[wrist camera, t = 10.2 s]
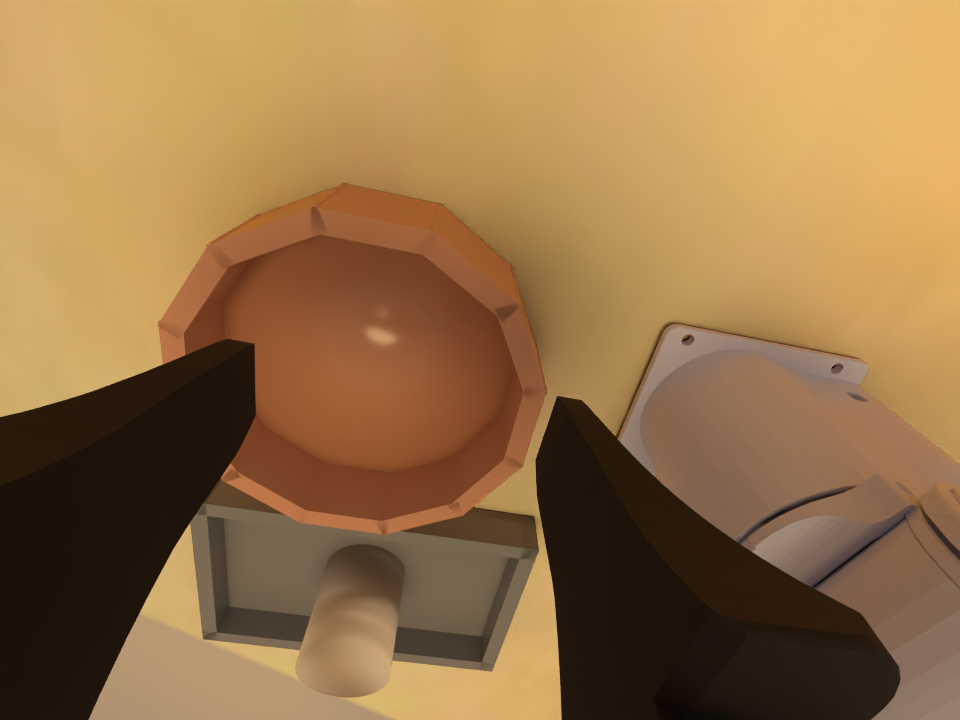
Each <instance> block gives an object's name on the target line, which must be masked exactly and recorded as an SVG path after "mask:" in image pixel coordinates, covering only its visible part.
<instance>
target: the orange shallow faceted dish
mask: <svg viewBox="0 0 960 720" xmlns="http://www.w3.org/2000/svg"><path fill="white" fill-rule="evenodd" d="M157 326H159V334H160V342H161V350H162V359H163V364H165V363H168V362H170V361H173V360H175V359H177V358H180V357H182V356H184V355H187V354H189V353H192V352H194V351H196V350H199V349H201V348H204V347H206V346H208V345H211V344H214V343H216V342H219V341H222V340H225V339H232V340H237V341H243V342H249V343H255V398H256V416H255V418H254V421H253V423H252V425H251V427H250V429H249V431H248V433H247V435H246V437H245V439H244V441H243V443H242V445H241V447H240V449H239V451H238V453H237V454H236V456H235V457H234V459H233V460H232V462H231V463H230V465H229V466H228V468H227V469H226V471H225V472H224V474H223V475H222V477H221V480H222V481H224V482H226V483H228V484H230V485H232V486H233V487H235V488H237V489H239V490H241V491H243V492H244V493H246V494H248V495H250V496H252V497H254V498H255V499H257V500H259V501H261V502H263V503H265V504H267V505H268V506H270V507H272V508H274V509H276V510H278V511H279V512H281V513H283V514H285V515H287V516H289V517H290V518H292V519H294V520H296V521H298V522H299V523H301V524H302V523H305V524H312V525H319V526H326V527H334V528H341V529H348V530H355V531H362V532H370V533H377V534H383V535H386V534H389V533H393V532H397V531H401V530H405V529H410V528H414V527H418V526H422V525H426V524H430V523H434V522H438V521H442V520H447V519H451V518H455V517H459V516H463V515H465V513H467V512H468V511H469V510H470V509H471V508H473V507H474V506H475V505H476V504H477V503H479V502H480V501H481V500H482V499H483V498H485V497H486V496H487V495H488V494H490V493H491V492H492V491H493V490H494V489H496V488H497V487H498V486H499V485H500V484H502V483H503V482H504V481H505V480H506V479H508V478H509V477H510V476H511V475H512V474H514V473H515V472H516V471H517V470H519V469H520V468H522V466H523V462H524V459H525V456H526V453H527V450H528V447H529V444H530V441H531V437H532V434H533V431H534V428H535V425H536V422H537V419H538V416H539V413H540V410H541V407H542V403H543V400H544V397H545V394H547V392H546V391H547V388H546V384H545V380H544V375H543V371H542V367H541V362H540V358H539V354H538V349H537V345H536V341H535V340H534V337H533V334H532V331H531V328H530V324H529V321H528V318H527V315H526V311H525V308H524V305H523V302H522V299H521V295H520V292H519V289H518V286H517V282H516V279H515V276H514V271H513V267H512V266H511V264H509V263H508V262H506V261H505V260H504V259H503V258H502V257H501V256H500V255H499V254H497V253H496V252H495V251H494V250H493V249H492V248H491V247H490V246H488V245H487V244H486V243H485V242H484V241H483V240H482V239H480V238H479V237H478V236H477V235H476V234H475V233H474V232H473V231H471V230H470V229H469V228H468V227H467V226H466V225H465V224H464V223H462V222H461V221H460V220H459V219H458V218H457V217H456V216H454V215H453V214H452V213H451V212H450V211H449V210H448V209H447V208H445V207H444V205H443V204H441V203H440V204H438V203H434V202H429V201H424V200H419V199H415V198H410V197H405V196H400V195H396V194H391V193H386V192H381V191H377V190H372V189H367V188H362V187H358V186H353V185H348V184H347V183H346V184H341V185H340V186H338V187H335V188H332V189H329V190H327V191H324V192H321V193H318V194H316V195H313V196H310V197H307V198H305V199H302V200H299V201H296V202H294V203H291V204H288V205H285V206H282V207H280V208H277V209H274V210H271V211H269V212H266V213H263V214H258V215H256V216H255V217H253V218H251V219H250V220H248V221H246V222H244V223H243V224H241V225H239V226H238V227H236V228H234V229H232V230H231V231H229V232H227V233H226V234H224V235H222V236H221V237H219V238H217V239H215V240H214V241H212V242H210V243H209V244H208V245H207V248H206V250H205V251H204V253H203V254H202V256H201V258H200V259H199V261H198V262H197V264H196V265H195V267H194V269H193V270H192V272H191V273H190V275H189V277H188V278H187V280H186V281H185V283H184V284H183V286H182V288H181V289H180V291H179V292H178V294H177V295H176V297H175V299H174V300H173V302H172V303H171V305H170V307H169V308H168V310H167V311H166V313H165V314H164V316H163V318H162V319H161V320H160V321H159V322H158V325H157Z"/></svg>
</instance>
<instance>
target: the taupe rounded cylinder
mask: <svg viewBox="0 0 960 720" xmlns="http://www.w3.org/2000/svg"><path fill="white" fill-rule="evenodd" d="M404 576H405V570H404V566H403V564H402V562H401V561H400V560H399V559H398V557H396V556H395V555H394V554H393V553H391V552H390V551H388V550H386V549H383V548H381V547H377V546H373V545H363V544H359V545H351V546H347V547H344V548H341V549H339V550H338V551H336V552H335V553H333V554H332V556H331V557H330V558H329V560H328V562H327V565H326V568H325V572H324V575H323V578H322V581H321V585H320V588H319V591H318V594H317V597H316V601H315V604H314V607H313V610H312V614H311V617H310V620H309V623H308V626H307V630H306V633H305V636H304V639H303V643H302V646H301V649H300V652H299V656H298V659H297V662H296V666H295V669H296V674H297V676H298V677H299V679H300V680H301V681H302V682H303V683H304V684H305V685H307V686H308V687H310V688H311V689H313V690H315V691H318V692H320V693H323V694H326V695H331V696H336V697H360V696H366V695H369V694H372V693H375V692H377V691H379V690H380V689H382V688H383V687H384V686H385V685H386V684H387V683H388V681H389V678H390V673H391V666H392V659H393V652H394V645H395V638H396V631H397V624H398V617H399V610H400V603H401V597H402V590H403V583H404Z"/></svg>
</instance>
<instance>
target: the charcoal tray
mask: <svg viewBox="0 0 960 720" xmlns="http://www.w3.org/2000/svg"><path fill="white" fill-rule="evenodd" d="M190 524H191V533H192V542H193V551H194V560H195V570H196V579H197V588H198V597H199V606H200V615H201V625H202V634H203V639H206V640H215V641H224V642H233V643H242V644H251V645H260V646H269V647H277V648H286V649H295V650H300V649H301V646H302V643H303V639H304V636H305V633H306V630H307V626H308V623H309V620H310V617H311V614H312V610H313V607H314V604H315V601H316V597H317V594H318V591H319V588H320V585H321V581H322V578H323V575H324V572H325V568H326V565H327V562H328V560H329V558H330V557H331V556H332V554H333V553H335V552H336V551H338V550H339V549H341V548H344V547H347V546H351V545H359V544H363V545H373V546H377V547H381V548H383V549H386V550H388V551H390V552H391V553H393V554H394V555H395V556H396V557H398V559H399V560H400V561H401V562H402V564H403V566H404V570H405V576H404V583H403V590H402V597H401V603H400V610H399V617H398V624H397V631H396V638H395V645H394V652H393V659H392V660H394V661H403V662H412V663H421V664H430V665H438V666H447V667H456V668H465V669H474V670H483V671H492V670H493V668H494V665H495V662H496V660H497V657H498V655H499V652H500V649H501V647H502V644H503V642H504V639H505V637H506V634H507V631H508V629H509V626H510V624H511V621H512V618H513V616H514V613H515V611H516V608H517V606H518V603H519V600H520V598H521V595H522V593H523V590H524V587H525V585H526V582H527V580H528V577H529V574H530V572H531V569H532V567H533V564H534V562H535V559H536V556H537V554H538V551H539V548H538V540H537V533H536V525H535V518H534V517H531V516H524V515H517V514H511V513H504V512H497V511H490V510H483V509H477V508H471V509H470V510H469V511H468V512H467V513H465V515H463V516H459V517H455V518H451V519H447V520H442V521H438V522H434V523H430V524H426V525H422V526H418V527H414V528H410V529H405V530H401V531H397V532H393V533H389V534H386V535H383V534H377V533H370V532H362V531H355V530H348V529H341V528H334V527H326V526H319V525H312V524H305V523H302V524H301V523H299V522H298V521H296V520H294V519H292V518H290V517H289V516H287V515H285V514H283V513H281V512H279V511H278V510H276V509H274V508H272V507H270V506H268V505H267V504H265V503H263V502H261V501H259V500H257V499H255V498H254V497H252V496H250V495H248V494H246V493H244V492H243V491H241V490H239V489H237V488H235V487H233V486H232V485H230V484H228V483H226V482H224V481H222V480H221V478H220V480H219V481H218V483H217V484H216V486H215V487H214V488H213V490H212V491H211V493H210V494H209V496H208V497H207V499H206V500H205V502H204V503H203V505H202V506H201V507H200V509H199V510H198V512H197V513H196V515H195V516H194V518H193V519H192V521H191V522H190Z"/></svg>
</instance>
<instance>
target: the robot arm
mask: <svg viewBox="0 0 960 720" xmlns="http://www.w3.org/2000/svg"><path fill="white" fill-rule="evenodd" d="M686 335H691V336H690V338H689V340H687V341H682V338H683V337H684V336H686ZM835 364H837V366H836V367H835V368H833V369H831V368H832V367H833V366H834V365H835ZM868 371H869V367H868V365H867V364H866V363H865V362H863V361H862V360H859V359H855V358H850V357H845V356H840V355H835V354H830V353H825V352H819V351H814V350H809V349H804V348H799V347H794V346H789V345H784V344H778V343H773V342H768V341H763V340H758V339H753V338H748V337H742V336H737V335H732V334H727V333H722V332H717V331H712V330H706V329H701V328H696V327H691V326H686V325H681V324H673V325H670V326H668V327H667V328H666V329H665V330H664V332H663V334H662V336H661V338H660V341H659V343H658V345H657V348H656V350H655V352H654V355H653V357H652V359H651V362H650V364H649V366H648V369H647V371H646V373H645V376H644V378H643V380H642V383H641V385H640V387H639V389H638V392H637V394H636V396H635V399H634V401H633V403H632V406H631V408H630V410H629V413H628V415H627V417H626V420H625V422H624V424H623V427H622V429H621V431H620V434H619V436H618V438H616V437H615V436H614V435H613V434H612V432H611V431H610V430H609V429H608V428H607V427H606V426H605V425H604V424H603V423H602V421H601V420H600V419H599V418H598V417H597V416H596V415H595V414H594V413H593V412H592V410H591V409H590V408H589V407H588V406H587V405H586V404H585V403H584V402H583V401H582V400H577V399H571V398H565V397H560V396H557V399H556V401H555V404H554V407H553V410H552V413H551V416H550V419H549V422H548V425H547V428H546V431H545V434H544V437H543V440H542V443H541V446H540V449H539V452H538V455H537V458H536V485H537V498H538V505H539V510H540V516H541V522H542V527H543V533H544V538H545V543H546V549H547V554H548V560H549V565H550V571H551V576H552V582H553V590H554V597H555V608H556V621H557V634H558V650H559V667H560V685H561V712H562V720H960V464H959V463H958V462H957V461H955V460H954V459H953V458H951V457H950V456H949V455H948V454H946V453H945V452H944V451H942V450H941V449H940V448H939V447H937V446H936V445H935V444H934V443H932V442H931V441H930V440H928V439H927V438H926V437H925V436H923V435H922V434H921V433H919V432H918V431H917V430H916V429H914V428H913V427H912V426H911V425H909V424H908V423H907V422H905V421H904V420H903V419H902V418H900V417H899V416H898V415H896V414H895V413H894V412H893V411H891V410H890V409H889V408H887V407H886V406H885V405H884V404H882V403H881V402H880V401H879V400H877V399H876V398H875V397H873V396H872V395H871V394H870V393H868V392H867V391H866V390H864V389H863V388H862V387H861V386H859V385H860V384H861V382H862V381H863V379H864V378H865V376H866V375H867V373H868ZM255 416H256V398H255V343H249V342H243V341H237V340H232V339H225V340H222V341H219V342H216V343H214V344H211V345H208V346H206V347H204V348H201V349H199V350H196V351H194V352H192V353H189V354H187V355H184V356H182V357H180V358H177V359H175V360H173V361H170V362H168V363H165V364H163V365H161V366H158V367H156V368H153V369H151V370H148V371H146V372H143V373H141V374H138V375H135V376H133V377H130V378H127V379H125V380H122V381H119V382H117V383H114V384H111V385H109V386H106V387H103V388H101V389H98V390H95V391H92V392H89V393H86V394H83V395H80V396H77V397H74V398H70V399H67V400H64V401H60V402H57V403H53V404H50V405H46V406H43V407H40V408H36V409H32V410H29V411H25V412H21V413H16V414H12V415H8V416H3V417H0V720H88V719H89V717H90V715H91V713H92V710H93V708H94V706H95V704H96V702H97V699H98V697H99V695H100V693H101V691H102V689H103V687H104V685H105V682H106V680H107V678H108V676H109V674H110V672H111V670H112V668H113V666H114V664H115V661H116V659H117V657H118V655H119V653H120V651H121V649H122V647H123V645H124V643H125V641H126V638H127V636H128V634H129V633H130V630H131V628H132V626H133V625H134V623H135V621H136V619H137V617H138V615H139V613H140V611H141V609H142V607H143V605H144V603H145V601H146V599H147V597H148V595H149V593H150V591H151V589H152V588H153V586H154V584H155V582H156V580H157V578H158V576H159V575H160V573H161V571H162V569H163V567H164V565H165V563H166V562H167V560H168V558H169V556H170V554H171V552H172V550H173V549H174V547H175V545H176V544H177V542H178V541H179V539H180V537H181V536H182V534H183V533H184V531H185V529H186V528H187V526H188V525H189V524H190V522H191V521H192V519H193V518H194V516H195V515H196V513H197V512H198V510H199V509H200V507H201V506H202V505H203V503H204V502H205V500H206V499H207V497H208V496H209V494H210V493H211V491H212V490H213V488H214V487H215V486H216V484H217V483H218V481H219V480H220V478H221V477H222V475H223V474H224V472H225V471H226V469H227V468H228V466H229V465H230V463H231V462H232V460H233V459H234V457H235V456H236V454H237V453H238V451H239V449H240V447H241V445H242V443H243V441H244V439H245V437H246V435H247V433H248V431H249V429H250V427H251V425H252V423H253V421H254V418H255ZM655 476H657V477H658V478H659V480H660V481H659V480H658V479H657V478H656V477H655Z"/></svg>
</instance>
